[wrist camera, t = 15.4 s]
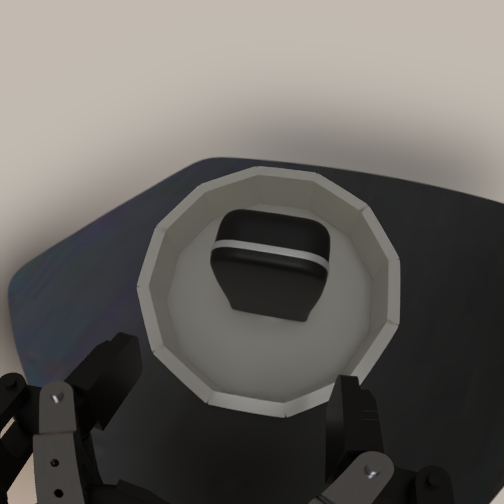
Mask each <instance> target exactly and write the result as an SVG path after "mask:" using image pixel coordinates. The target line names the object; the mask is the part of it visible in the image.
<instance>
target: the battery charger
mask: <svg viewBox="0 0 504 504" xmlns="http://www.w3.org/2000/svg"><path fill="white" fill-rule="evenodd" d="M329 257H330V235H329V232H328V230H327V228H326V227H325V226H324V225H322V224H321V223H320V222H318V221H315V220H312V219H307V218H302V217H296V216H290V215H284V214H278V213H271V212H263V211H256V210H248V209H236V210H233V211H230V212H228V213H227V214H226V215H225V216H224V218H223V219H222V221H221V223H220V226H219V229H218V232H217V236H216V239H215V243H214V244H213V245H212V247H211V251H210V265H211V268H212V271H213V273H214V275H215V278H216V280H217V282H218V284H219V286H220V287H221V289H222V291H223V292H224V294H225V296H226V297H227V299H228V301H229V303H230V306H231V308H232V309H234V310H238V311H243V312H248V313H254V314H259V315H264V316H270V317H276V318H281V319H287V320H294V321H300V322H305V321H307V319H308V316H309V315H310V312H311V310H312V309H313V308H314V306H315V305H316V303H317V302H318V300H319V299H320V297H321V295H322V293H323V290H324V288H325V285H326V283H327V280H328V277H329V270H330V265H329Z"/></svg>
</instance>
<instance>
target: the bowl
mask: <svg viewBox="0 0 504 504" xmlns="http://www.w3.org/2000/svg"><path fill="white" fill-rule="evenodd" d="M236 209H248V210H256V211H263V212H271V213H278V214H284V215H290V216H296V217H302V218H307V219H312V220H315V221H318V222H320V223H321V224H322V225H324V226H325V227H326V228H327V230H328V232H329V235H330V257H329V265H330V270H329V277H328V280H327V283H326V285H325V288H324V290H323V293H322V295H321V297H320V299H319V300H318V302H317V303H316V305H315V306H314V308H313V309H312V310H311V312H310V315H309V316H308V319H307V321H305V322H300V321H294V320H287V319H281V318H276V317H270V316H264V315H259V314H254V313H248V312H243V311H238V310H234V309H232V308H231V306H230V303H229V301H228V299H227V297H226V296H225V294H224V292H223V291H222V289H221V287H220V286H219V284H218V282H217V280H216V278H215V275H214V273H213V271H212V268H211V265H210V251H211V247H212V245H213V244H214V243H215V239H216V236H217V232H218V229H219V226H220V223H221V221H222V219H223V218H224V216H225V215H226V214H227V213H228V212H230V211H233V210H236ZM398 259H399V257H398V255H397V253H396V251H395V249H394V248H393V246H392V244H391V242H390V241H389V239H388V237H387V235H386V234H385V232H384V230H383V228H382V227H381V225H380V223H379V222H378V220H377V218H376V217H375V215H374V213H373V212H372V210H371V208H370V207H369V206H367V204H366V203H364V202H363V201H361V200H360V199H358V198H357V197H355V196H354V195H352V194H350V193H349V192H347V191H346V190H344V189H343V188H341V187H339V186H338V185H336V184H334V183H333V182H331V181H330V180H328V179H326V178H325V177H323V176H321V175H320V174H317V175H316V173H314V172H306V171H298V170H290V169H282V168H273V167H263V166H258V168H257V167H256V166H255V167H252V168H249V169H246V170H242V171H239V172H236V173H233V174H230V175H227V176H224V177H221V178H218V179H215V180H212V181H209V182H206V183H203V184H201V186H200V185H199V186H198V187H197V188H195V189H194V190H193V191H192V192H191V193H190V194H189V195H188V196H187V197H186V198H185V199H184V200H183V201H182V202H181V203H180V204H178V205H177V206H176V207H175V208H174V209H173V210H172V211H171V212H170V213H169V214H168V215H167V216H166V217H165V218H164V219H163V220H162V221H161V222H160V223H159V224H158V225H157V228H156V227H155V230H154V233H153V236H152V239H151V242H150V245H149V248H148V251H147V254H146V257H145V260H144V263H143V267H142V270H141V273H140V276H139V280H138V283H137V286H138V287H137V292H138V296H139V301H140V305H141V310H142V314H143V318H144V322H145V326H146V330H147V334H148V338H149V342H150V346H151V350H152V352H154V353H153V354H154V355H155V356H156V357H157V358H158V359H159V360H160V361H161V362H162V363H163V364H164V365H165V366H166V367H167V368H168V369H169V370H170V371H171V372H172V373H173V374H175V375H176V376H177V377H178V378H179V379H180V380H181V381H182V382H183V383H184V384H185V385H186V386H187V387H188V388H189V389H191V390H192V391H193V392H194V393H195V394H196V395H197V396H198V397H199V398H201V399H202V400H203V401H204V402H205V403H208V404H209V405H214V406H219V407H223V408H228V409H233V410H239V411H244V412H250V413H256V414H262V415H268V416H275V417H282V418H285V415H286V417H290V416H292V415H295V414H297V413H300V412H303V411H305V410H308V409H310V408H312V407H315V406H317V405H320V404H322V403H324V402H327V401H329V398H330V396H331V393H332V390H333V387H334V384H335V381H336V379H337V376H338V375H350V376H357V377H358V379H359V385H360V384H361V383H362V382H363V380H364V379H365V377H366V376H367V374H368V373H369V372H370V370H371V369H372V367H373V366H374V364H375V363H376V361H377V360H378V358H379V357H380V355H381V354H382V352H383V351H384V349H385V348H386V346H387V344H388V343H389V341H390V340H391V338H392V336H393V335H394V333H395V332H396V330H397V328H398V327H399V326H398V325H399V317H400V260H398Z"/></svg>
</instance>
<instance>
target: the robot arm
mask: <svg viewBox="0 0 504 504" xmlns="http://www.w3.org/2000/svg"><path fill="white" fill-rule="evenodd" d="M141 371H142V361H141V354H140V347H139V340H138V338H137V337H136V336H133V335H129V334H126V333H122V332H119V333H118V334H117V335H116V336H115V337H114V338H113V339H112V340H111V341H108V340H107V341H105V342H103V343H101V344H99V345H97V346H96V347H95V348H94V349H93V350H92V351H91V353H90V355H88V356H87V357H86V358H85V360H84V361H82V362H81V363H80V364H79V365H78V366H77V368H76V369H75V370H74V371H73V372H72V373H71V374H70V375H69V376H68V377H67V378H66V379H65V381H64V382H62V381H53V382H50V383H48V384H46V385H45V386H44V387H43V388H41V387H36V386H31V385H27V384H26V381H25V379H24V377H23V376H22V375H20V374H18V373H8V374H5V375H4V376H2V377H1V378H0V433H1V431H2V429H3V428H4V427H5V426H6V424H7V423H8V422H9V420H10V419H11V418H12V417H13V419H14V420H15V421H14V422H13V424H12V425H11V426H10V427H9V429H8V430H7V431H6V433H5V434H4V435H3V436H2V438H1V439H0V504H8V502H7V501H8V500H7V499H8V497H7V491H8V490H9V488H10V486H11V485H12V483H13V482H14V480H15V478H16V477H17V475H18V474H19V472H20V471H21V469H22V468H23V466H24V465H25V463H26V462H27V460H28V459H29V457H30V456H31V454H32V453H33V457H34V474H35V486H36V494H37V504H170V503H168V502H167V501H165V500H163V499H162V498H160V497H158V496H157V495H155V494H153V493H152V492H150V491H148V490H146V489H144V488H141V487H138V486H136V485H133V484H130V483H128V482H125V481H123V480H121V479H120V480H119V482H118V484H117V485H108V484H105V485H104V484H103V481H102V479H101V477H100V474H99V471H98V467H97V462H96V458H95V453H94V447H93V442H92V436H91V433H90V431H91V430H92V428H93V427H95V428H97V429H100V430H102V431H103V430H104V429H105V427H106V426H107V424H108V423H109V422H110V420H111V419H112V417H113V416H114V414H115V413H116V411H117V410H118V408H119V407H120V405H121V404H122V402H123V401H124V399H125V398H126V396H127V395H128V393H129V392H130V390H131V389H132V388H133V386H134V385H135V383H136V382H137V380H138V379H139V377H140V375H141ZM378 419H379V418H378V412H377V406H376V401H375V399H374V397H373V396H372V394H371V393H370V391H369V390H360V385H359V379H358V377H357V376H350V375H338V376H337V379H336V381H335V384H334V387H333V390H332V393H331V396H330V398H329V401H328V405H327V410H326V469H325V483H329V484H332V485H331V486H329V487H328V488H327V489H326V490H325V491H324V492H323V493H322V494H321V495H320V496H317V497H315V498H314V499H313V500H312V501H311V502H310V503H308V504H455V503H454V496H453V490H452V484H451V479H450V476H449V474H448V473H447V472H446V471H445V470H444V469H443V468H441V467H438V466H427V467H424V468H422V469H421V470H420V471H419V472H414V471H409V470H405V469H401V468H398V467H396V466H394V465H393V463H392V461H391V460H390V458H389V457H387V456H386V455H385V454H384V450H383V443H382V436H381V430H380V424H379V421H378Z"/></svg>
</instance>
